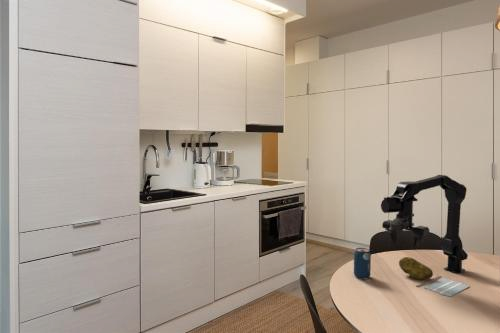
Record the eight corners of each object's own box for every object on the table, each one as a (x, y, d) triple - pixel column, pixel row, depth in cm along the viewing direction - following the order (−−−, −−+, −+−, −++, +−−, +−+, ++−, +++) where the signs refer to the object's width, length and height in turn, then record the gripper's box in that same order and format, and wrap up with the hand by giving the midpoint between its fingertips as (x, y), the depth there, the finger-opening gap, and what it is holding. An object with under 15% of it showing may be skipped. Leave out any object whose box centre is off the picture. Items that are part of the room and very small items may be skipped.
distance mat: (444, 279, 156) (444, 278, 156) (469, 286, 148) (469, 286, 148) (424, 288, 146) (424, 287, 146) (450, 296, 138) (450, 296, 138)
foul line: (438, 276, 159) (438, 275, 159) (441, 277, 158) (441, 276, 158) (415, 286, 148) (415, 285, 148) (418, 287, 148) (418, 286, 148)
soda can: (372, 279, 155) (373, 252, 154) (356, 279, 156) (356, 252, 155) (367, 273, 162) (368, 247, 161) (351, 273, 162) (352, 247, 162)
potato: (425, 283, 150) (425, 264, 150) (396, 275, 160) (396, 257, 160) (434, 278, 156) (435, 260, 155) (405, 271, 166) (405, 253, 165)
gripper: (375, 210, 160) (374, 245, 161) (416, 217, 145) (415, 256, 146) (389, 207, 167) (388, 241, 168) (430, 214, 152) (429, 250, 153)
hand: (404, 247), depth 159 cm, fingers open, 9 cm apart
